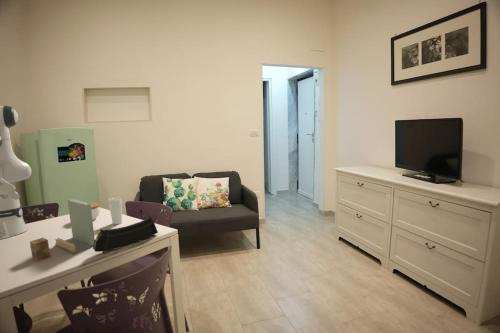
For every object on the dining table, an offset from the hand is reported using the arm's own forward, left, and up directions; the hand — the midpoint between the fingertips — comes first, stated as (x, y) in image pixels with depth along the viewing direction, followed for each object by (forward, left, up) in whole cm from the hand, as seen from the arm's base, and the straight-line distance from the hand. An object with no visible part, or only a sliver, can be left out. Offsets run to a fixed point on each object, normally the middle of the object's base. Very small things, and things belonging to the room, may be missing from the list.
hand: (12, 198), depth 115 cm
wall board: (+16, +13, -29) cm, 36 cm away
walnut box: (+5, +4, -29) cm, 30 cm away
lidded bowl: (+13, +55, -29) cm, 63 cm away
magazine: (+41, +6, -29) cm, 51 cm away
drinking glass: (+31, +41, -29) cm, 59 cm away
